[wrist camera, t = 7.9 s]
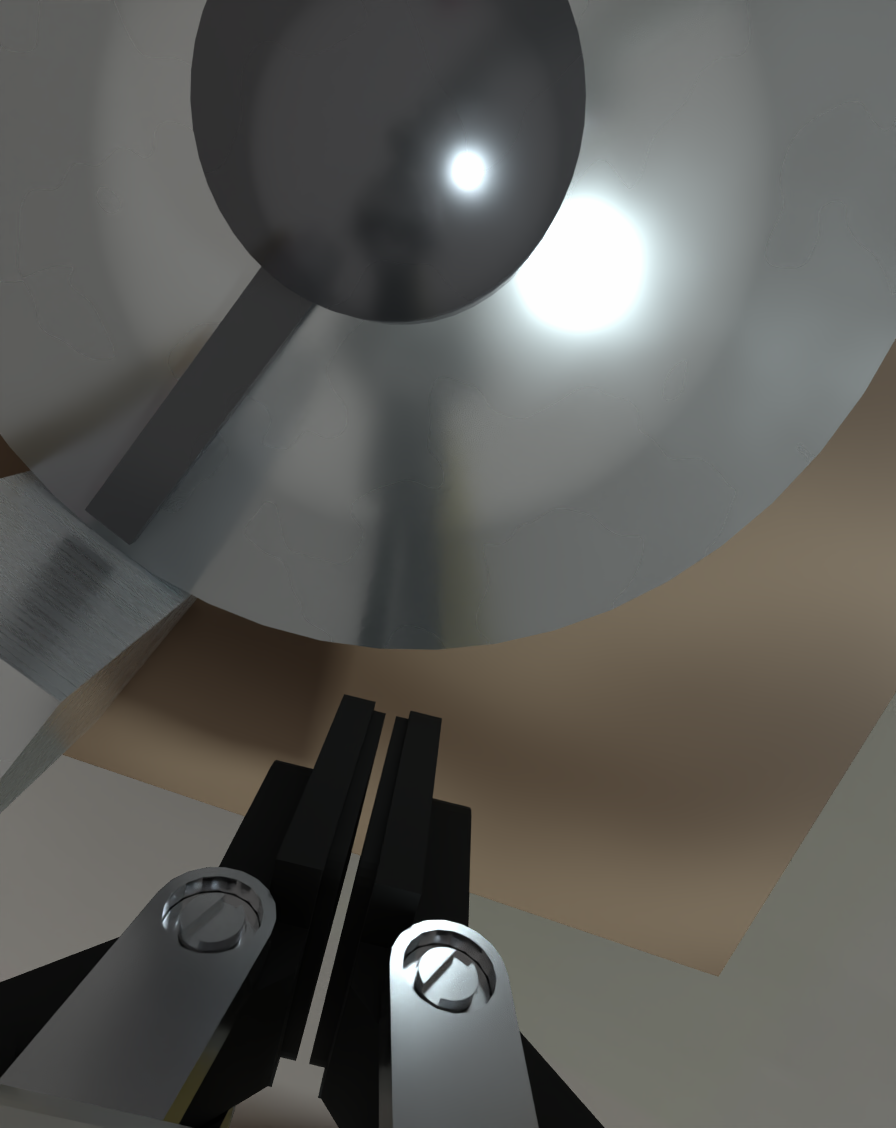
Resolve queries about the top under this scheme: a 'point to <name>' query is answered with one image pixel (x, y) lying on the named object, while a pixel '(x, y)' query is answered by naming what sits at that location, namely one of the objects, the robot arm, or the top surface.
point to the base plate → (589, 714)
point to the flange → (413, 312)
